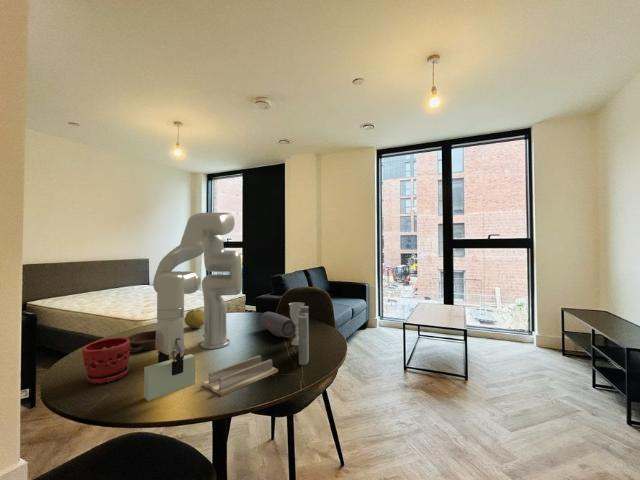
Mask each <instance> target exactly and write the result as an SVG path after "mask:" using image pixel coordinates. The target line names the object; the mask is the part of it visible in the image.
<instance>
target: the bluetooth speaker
mask: <svg viewBox="0 0 640 480" xmlns="http://www.w3.org/2000/svg"><path fill="white" fill-rule="evenodd" d="M259 322H260V325H261V326H262V327H263V328H264V329H265V330H268V331H269V332H270V333H271V334H272V335H274V336H275V337H277V338H290V337H292V336H294V334H295V332H296V329H295V328H296V324H294V323H293V321H292V319H291V318H289V317H286V316H284V315H282V314H278V313H276V312H272V311H266V312H264V313H262V314H261V316H260V318H259Z"/></svg>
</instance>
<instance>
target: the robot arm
mask: <svg viewBox="0 0 640 480" xmlns="http://www.w3.org/2000/svg"><path fill="white" fill-rule="evenodd" d="M186 222H187V223H186V226H185V228H184V231H183V235H182V236H181V240H180V244H179V245H178V246H176V247H174V248H173V249H172V250H170V252H168V253H167V254H165V256H164V257H163V258H162V259H160V262H159V263H158V265H157V269H156V271H155V273H154V278H153V283H152V286H153V289H154V291H155V292H156V298H157V299H156V321H157V322H156V328H155V331H156V341H155V350H157V363H161V362H164V361H168V360H170V355H171V359H173V361H172V375H173V376H174V375H177V374H180V373H183V360H184V356H185V355H186V353H185V352H186V346H185V331H184V330H185V329H184V320H183V319H185V295H191V294H195V292H197V291H198V290H199V288H200V287H201V290H202V296H203V312H204V325H203V333H202V338H203V340H202V341H201V342H200V347H201V348H202V349H207V350H208V349H209V350H216V349H220V348H225V347H227V346H228V345H230V344H231V340H230V339H229V338H227V304H226V301H225V299H224V298H223V296H238V295H239V294H240V293H241V292H242V290H243V272H242V271H243V270H242V267H243V266H242V257H241V255H240V254H241V253H239V252H238V251H236V250H225V248H224V238H223V236H225V235H228V234H230V233H231V232H232V231H233V230H234V228H235V218H234V216H233V214H232V213H230V212H198V213H195V214H193V215H191V216H190V217H189V218H188V219H187V221H186ZM202 254H203V259H204V262H203V263H204V268H205V270H206V271H208V272H212V273H214V272H215V273H217V274H215V273H214V274H208V275H206V276H204V277H203V278H202V280H201V277H200V275H199V274H198V273H197V272H195V271H187V270H186V271H180V270H179V271H178V270H177V271H173V270H174V269H175V268H176V267H178V266H179V265H181V264H183V263H185V262H188V261H190V260H192V259H195V258H198V257H199V256H201V255H202ZM218 272H219V273H220V272H221V273H220V274H219V273H218ZM223 272H225V273H226V272H227V273H228V274H227V273H226V274H224V273H223Z"/></svg>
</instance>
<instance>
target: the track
mask: <svg viewBox="0 0 640 480" xmlns="http://www.w3.org/2000/svg"><path fill="white" fill-rule="evenodd" d="M278 372H279V368H276V367H274V366H273V359H272V358H270V359H267V360H264V361H262V355H256V356H253V357H251V358H247V359H245V360H242V361H239V362H237V363H234V364H231V365H227V366H224V367H222V368H219V369H217V370H213V371H211V372H208V379H207V380H205V381H202V386H203V387H205V388H207V389H209V390H211V391H212V392H214V394H215V393H216V394H218V395H219V396H221V397H223V396H225V395H228V394H231V393H232V392H235V391H237V390H239V389H242V388H243V387H246V386H248V385H251V384H253V383H255V382H258V381H261V380H262V379H264V378H265V379H266V378H267V377H269V376H271V375H274V374H276V373H278Z"/></svg>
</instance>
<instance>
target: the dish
mask: <svg viewBox="0 0 640 480" xmlns="http://www.w3.org/2000/svg"><path fill="white" fill-rule="evenodd" d="M126 338H128V339H129V340H130V352H131V353H137V352H141V351H142V350H145V351H151V350H156V348H155V341H156V330H148V331H142V332H137V333H134V334H131V335H129V336H127V337H126ZM150 349H151V350H150Z"/></svg>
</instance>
